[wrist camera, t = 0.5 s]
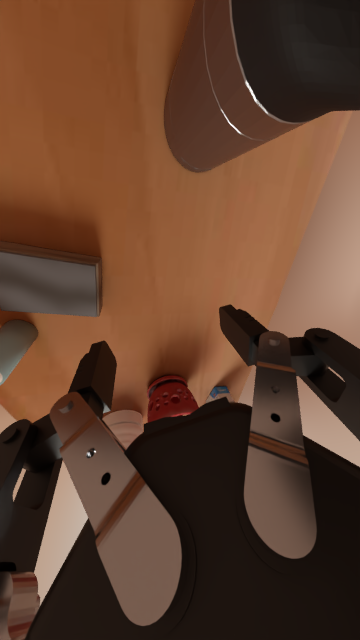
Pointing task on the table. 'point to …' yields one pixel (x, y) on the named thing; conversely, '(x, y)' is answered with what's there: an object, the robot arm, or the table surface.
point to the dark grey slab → (49, 281)
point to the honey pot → (125, 425)
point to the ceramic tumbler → (14, 344)
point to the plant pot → (169, 398)
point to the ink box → (219, 394)
